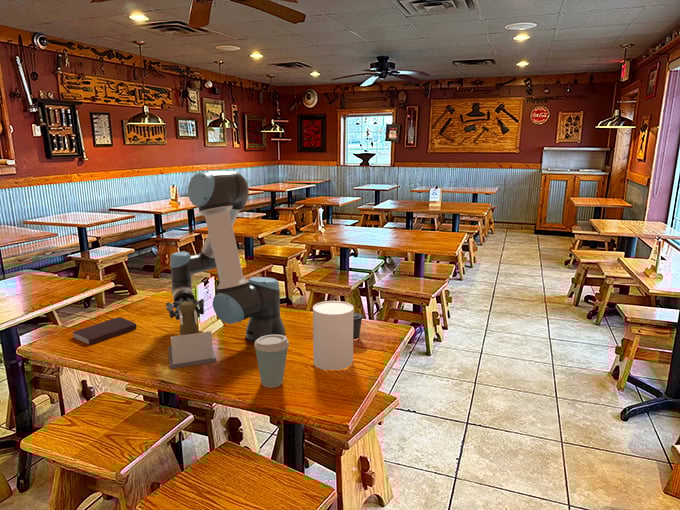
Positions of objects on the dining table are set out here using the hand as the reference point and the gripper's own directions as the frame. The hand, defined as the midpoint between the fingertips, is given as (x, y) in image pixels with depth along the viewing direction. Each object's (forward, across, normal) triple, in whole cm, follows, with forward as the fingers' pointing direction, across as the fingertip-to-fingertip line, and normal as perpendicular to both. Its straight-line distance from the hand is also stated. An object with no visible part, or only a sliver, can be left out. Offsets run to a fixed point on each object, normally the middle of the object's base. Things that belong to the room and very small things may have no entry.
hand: (188, 320), depth 156 cm
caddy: (-5, 0, -15) cm, 16 cm away
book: (-38, +30, -16) cm, 51 cm away
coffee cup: (+3, -59, -15) cm, 61 cm away
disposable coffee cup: (+25, -22, -15) cm, 37 cm away
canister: (+19, -45, -14) cm, 51 cm away
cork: (-5, 0, -7) cm, 9 cm away
